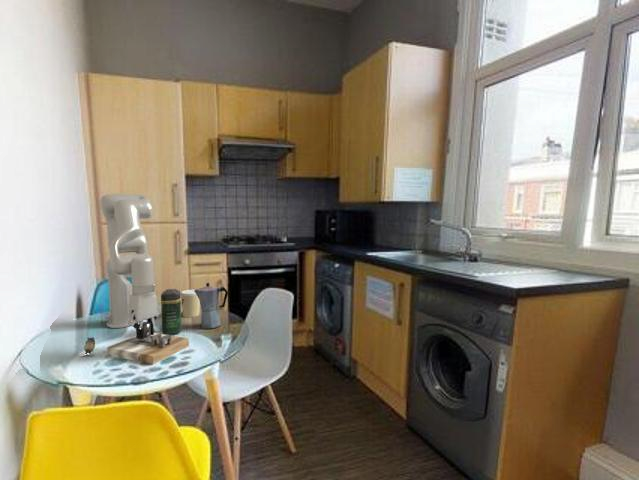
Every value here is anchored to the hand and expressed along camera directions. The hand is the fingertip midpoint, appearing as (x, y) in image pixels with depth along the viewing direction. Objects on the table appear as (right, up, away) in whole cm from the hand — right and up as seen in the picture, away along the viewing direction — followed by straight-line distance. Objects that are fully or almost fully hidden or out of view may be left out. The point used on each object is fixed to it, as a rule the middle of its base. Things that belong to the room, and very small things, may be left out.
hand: (145, 336), depth 139 cm
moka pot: (+17, -3, +28) cm, 33 cm away
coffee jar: (+2, -4, +20) cm, 20 cm away
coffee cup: (+2, -1, +45) cm, 45 cm away
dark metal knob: (+3, -2, -1) cm, 4 cm away
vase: (-19, -6, -4) cm, 20 cm away
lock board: (+2, -5, 0) cm, 6 cm away
